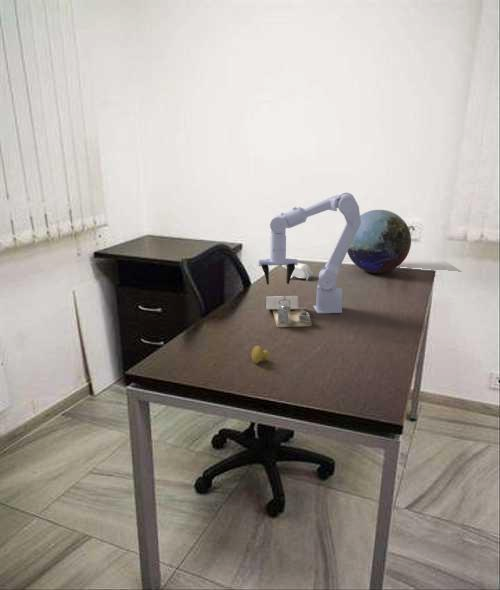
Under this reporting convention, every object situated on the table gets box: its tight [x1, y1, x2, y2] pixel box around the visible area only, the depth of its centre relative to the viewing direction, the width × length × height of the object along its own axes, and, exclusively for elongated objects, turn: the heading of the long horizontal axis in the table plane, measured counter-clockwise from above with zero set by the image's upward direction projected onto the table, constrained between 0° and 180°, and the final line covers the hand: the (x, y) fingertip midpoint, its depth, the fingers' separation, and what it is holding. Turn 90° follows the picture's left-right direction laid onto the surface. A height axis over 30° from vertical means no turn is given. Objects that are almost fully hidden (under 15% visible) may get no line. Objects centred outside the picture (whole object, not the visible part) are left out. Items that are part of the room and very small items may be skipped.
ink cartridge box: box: [265, 295, 307, 310], centre depth 174 cm, size 9×5×15 cm
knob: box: [251, 345, 269, 364], centre depth 136 cm, size 5×5×5 cm
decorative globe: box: [346, 209, 412, 274], centre depth 221 cm, size 30×30×30 cm
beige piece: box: [272, 308, 313, 328], centre depth 167 cm, size 12×14×5 cm
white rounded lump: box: [281, 257, 314, 282], centre depth 216 cm, size 9×8×15 cm
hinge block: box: [277, 305, 290, 323], centre depth 161 cm, size 4×4×5 cm
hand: (277, 283), depth 176 cm, fingers open, 7 cm apart
